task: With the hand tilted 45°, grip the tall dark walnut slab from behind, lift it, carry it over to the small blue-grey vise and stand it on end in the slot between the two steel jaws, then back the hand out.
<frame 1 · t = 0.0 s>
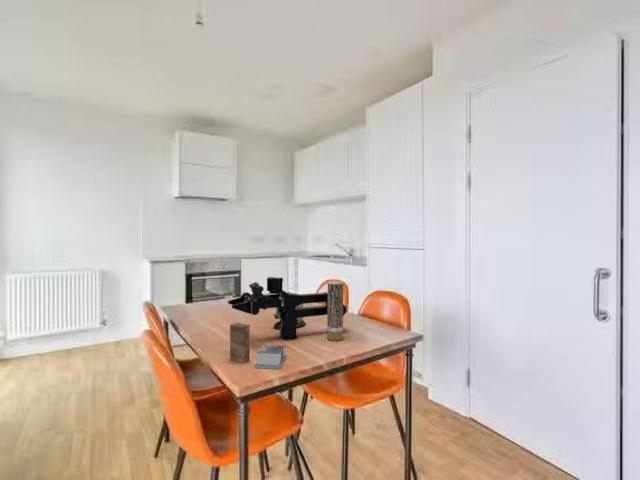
hand: (230, 304, 144), 17 cm above the table, tool horizontal, fingers open, 9 cm apart
walnut slab: (239, 360, 126), on the table
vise: (271, 363, 124), on the table
owl figurine: (289, 326, 172), on the table
paper tube: (335, 339, 152), on the table
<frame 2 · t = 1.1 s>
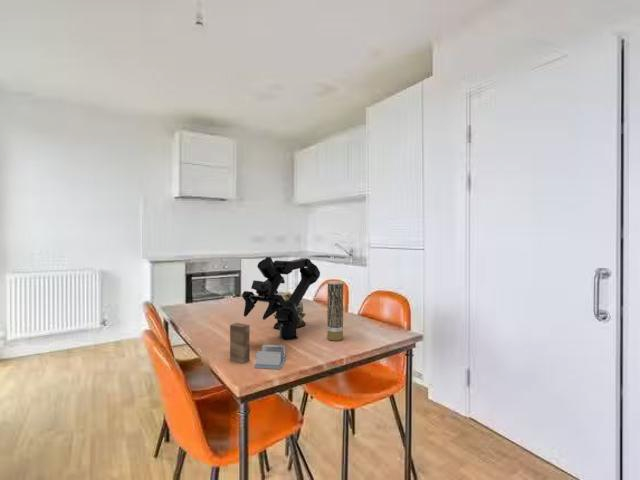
hand: (253, 317, 133), 14 cm above the table, tool tilted 45°, fingers open, 9 cm apart
nothing on the table moved.
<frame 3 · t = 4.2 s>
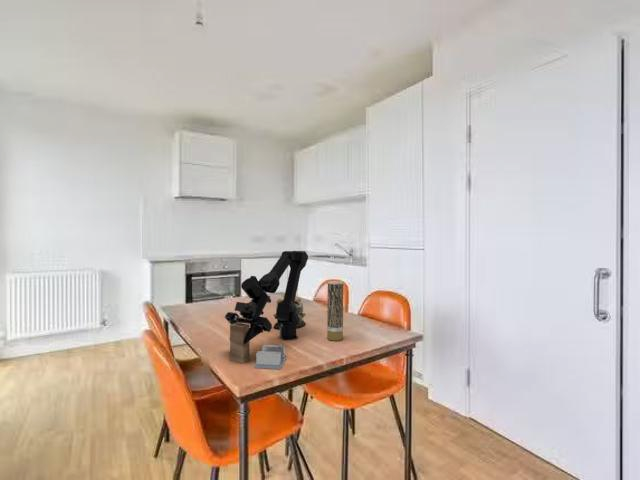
hand: (237, 341, 125), 7 cm above the table, tool tilted 45°, fingers closed on walnut slab, 6 cm apart
walnut slab: (239, 360, 126), on the table, touching gripper
everything else where it was.
when the fingers open (9 cm above the table, at t = 8.3 s): walnut slab stays where it is, resting on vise.
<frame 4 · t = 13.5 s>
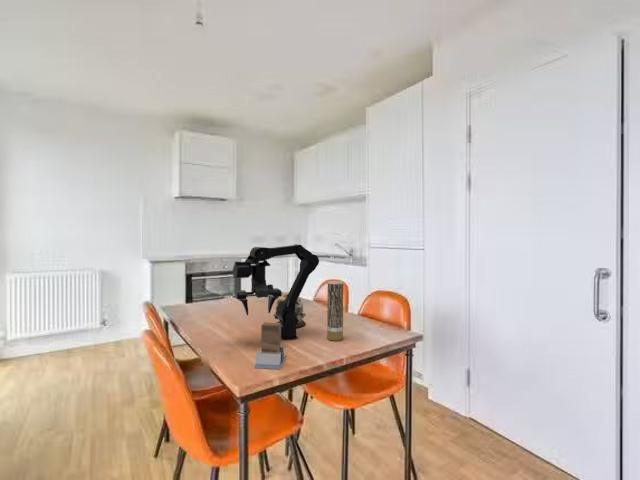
hand: (258, 314, 146), 12 cm above the table, tool pointing down, fingers open, 9 cm apart
walnut slab: (271, 360, 124), point 1 cm above the table, touching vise
everything else where it was.
at the end: walnut slab 0.0 cm off-centre on the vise, point 1.0 cm above the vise's base; walnut slab tilted 0°; the gripper is holding nothing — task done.
